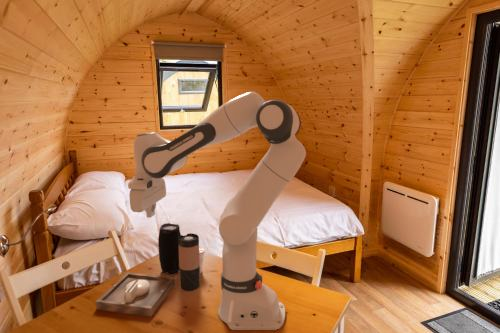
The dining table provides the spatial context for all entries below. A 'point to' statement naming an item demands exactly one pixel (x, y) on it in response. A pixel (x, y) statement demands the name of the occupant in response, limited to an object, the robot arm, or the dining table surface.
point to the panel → (141, 304)
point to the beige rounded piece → (136, 289)
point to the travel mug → (189, 262)
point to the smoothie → (201, 257)
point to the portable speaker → (169, 248)
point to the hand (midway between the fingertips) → (150, 216)
